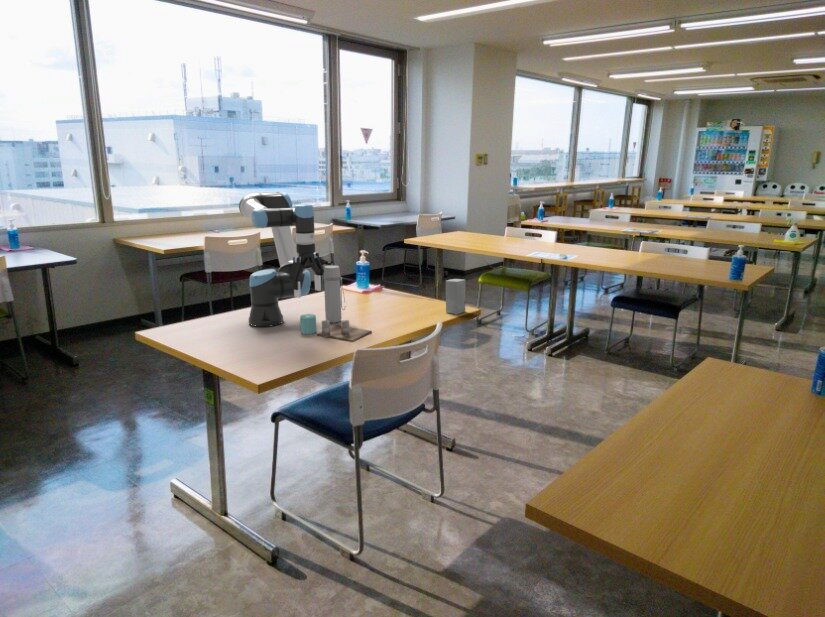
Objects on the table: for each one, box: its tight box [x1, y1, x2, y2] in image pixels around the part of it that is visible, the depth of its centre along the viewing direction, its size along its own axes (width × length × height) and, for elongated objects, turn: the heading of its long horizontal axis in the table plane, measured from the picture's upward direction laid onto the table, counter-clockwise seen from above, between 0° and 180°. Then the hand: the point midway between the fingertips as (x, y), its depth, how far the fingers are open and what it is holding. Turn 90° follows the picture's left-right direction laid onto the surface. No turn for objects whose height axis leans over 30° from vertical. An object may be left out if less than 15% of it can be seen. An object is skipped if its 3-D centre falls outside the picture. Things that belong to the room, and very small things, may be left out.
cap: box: [299, 313, 318, 335], centre depth 235 cm, size 6×6×7 cm
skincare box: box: [445, 278, 466, 316], centre depth 264 cm, size 8×7×16 cm
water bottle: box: [323, 265, 346, 324], centre depth 249 cm, size 9×8×25 cm
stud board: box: [316, 319, 373, 343], centre depth 232 cm, size 18×15×6 cm
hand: (308, 293), depth 232 cm, fingers open, 13 cm apart
